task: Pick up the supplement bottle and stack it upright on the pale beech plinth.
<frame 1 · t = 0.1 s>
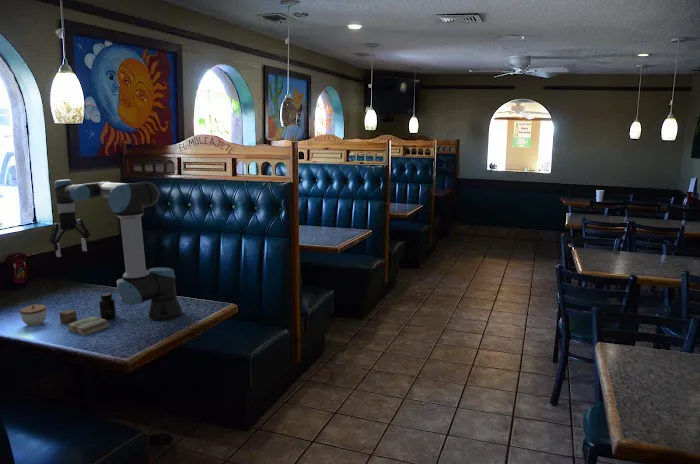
hand: (72, 253, 278), 28 cm above the table, fingers open, 13 cm apart
walnut cube: (68, 321, 263), on the table
lidded jar: (35, 324, 261), on the table
white cup: (126, 298, 296), on the table
plinth: (88, 328, 254), on the table
supplement bottle: (108, 318, 266), on the table
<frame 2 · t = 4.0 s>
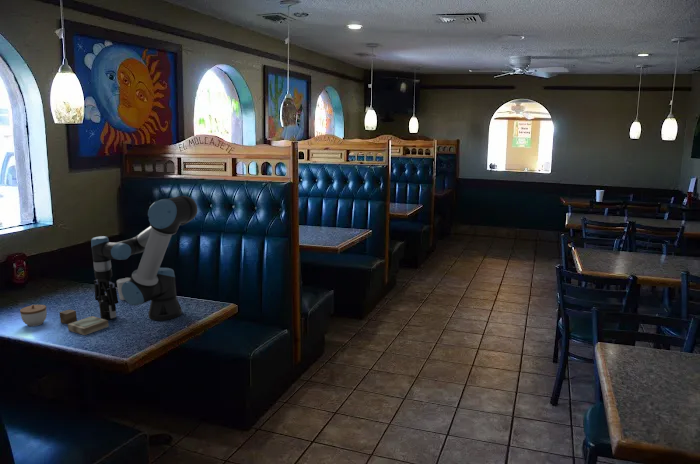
hand: (108, 316, 266), 1 cm above the table, fingers closed on supplement bottle, 7 cm apart
supplement bottle: (108, 318, 266), on the table, touching gripper
everything else where it was.
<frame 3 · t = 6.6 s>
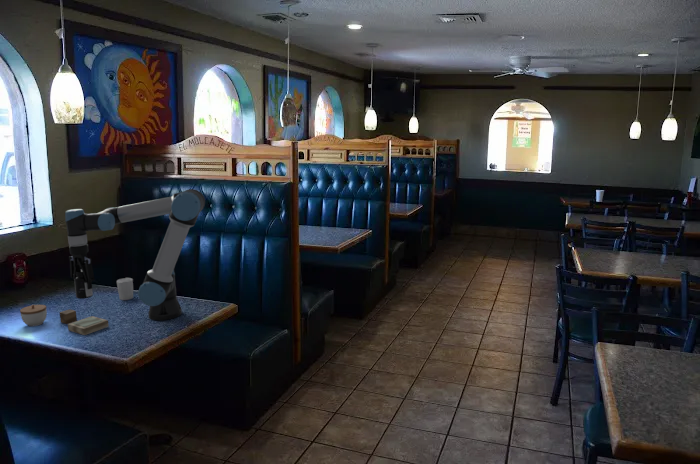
hand: (84, 294, 250), 16 cm above the table, fingers closed on supplement bottle, 7 cm apart
supplement bottle: (84, 297, 251), point 15 cm above the table, touching gripper
everything else where it was.
when the fingers open (6 cm above the table, at t = 9.1 s): supplement bottle drops 1 cm, resting on plinth.
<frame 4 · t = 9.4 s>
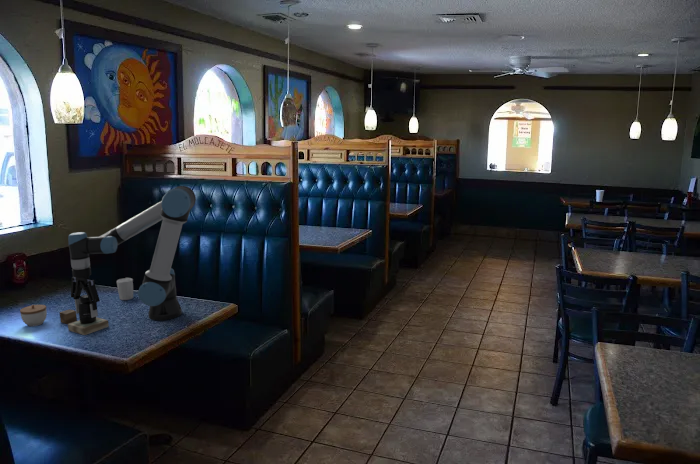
hand: (87, 314, 252), 7 cm above the table, fingers open, 10 cm apart
supplement bottle: (88, 322, 253), point 3 cm above the table, touching plinth
everything else where it was.
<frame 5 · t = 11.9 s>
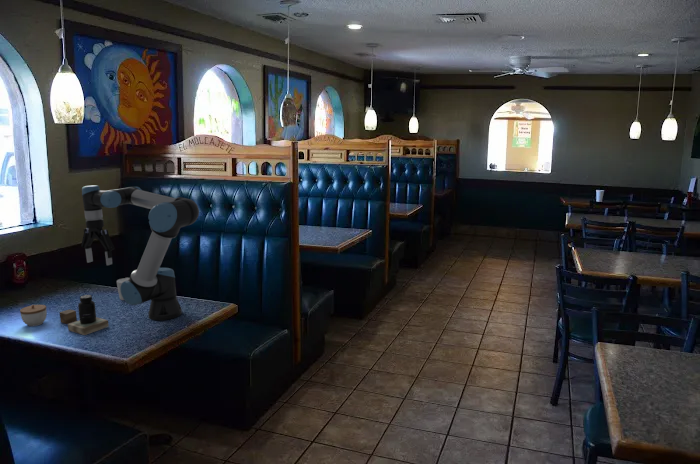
hand: (99, 263, 264), 26 cm above the table, fingers open, 13 cm apart
nothing on the table moved.
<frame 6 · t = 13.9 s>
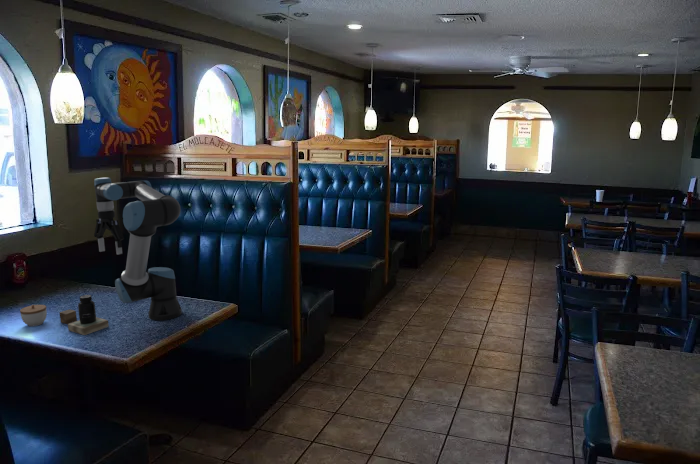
hand: (110, 252, 275), 29 cm above the table, fingers open, 13 cm apart
nothing on the table moved.
at the end: supplement bottle inside the target area on the plinth (0.1 cm from its centre), point 3.0 cm above the plinth's base; supplement bottle tilted 0°; the gripper is holding nothing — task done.
